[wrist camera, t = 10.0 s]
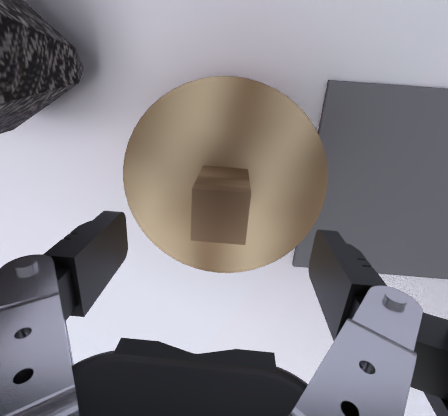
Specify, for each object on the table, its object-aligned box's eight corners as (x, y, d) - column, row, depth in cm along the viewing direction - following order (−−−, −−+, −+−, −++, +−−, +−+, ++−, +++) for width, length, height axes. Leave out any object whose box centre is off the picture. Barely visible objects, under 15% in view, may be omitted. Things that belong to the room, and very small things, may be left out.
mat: (550, 96, 20) (556, 96, 19) (461, 277, 26) (464, 280, 26) (328, 80, 20) (330, 80, 20) (292, 263, 26) (293, 266, 26)
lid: (345, 85, 16) (394, 82, 11) (304, 273, 21) (324, 329, 16) (120, 68, 16) (68, 57, 11) (133, 258, 21) (101, 309, 16)
